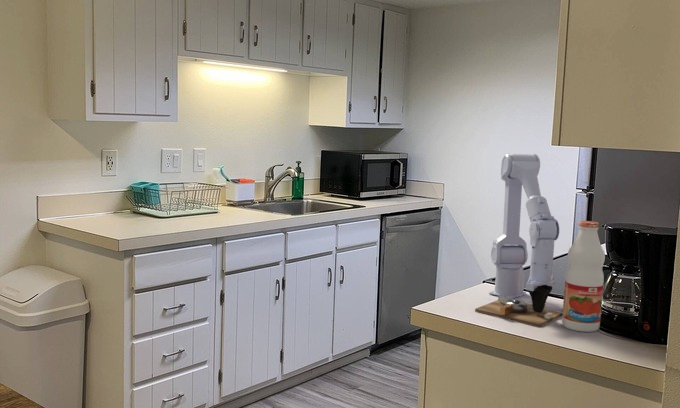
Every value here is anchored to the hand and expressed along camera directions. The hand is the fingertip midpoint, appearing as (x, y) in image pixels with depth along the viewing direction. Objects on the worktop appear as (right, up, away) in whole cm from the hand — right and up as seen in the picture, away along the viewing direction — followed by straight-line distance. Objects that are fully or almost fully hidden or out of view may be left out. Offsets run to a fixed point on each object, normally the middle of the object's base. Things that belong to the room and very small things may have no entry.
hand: (538, 311), depth 179 cm
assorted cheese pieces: (-6, 0, +3) cm, 7 cm away
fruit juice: (+9, -3, -7) cm, 12 cm away
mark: (+2, -2, -2) cm, 4 cm away
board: (-4, -1, +4) cm, 6 cm away
